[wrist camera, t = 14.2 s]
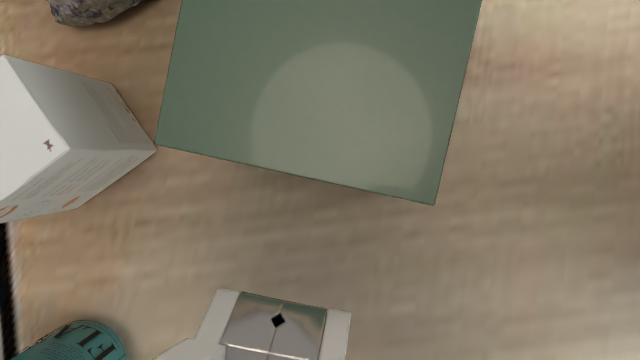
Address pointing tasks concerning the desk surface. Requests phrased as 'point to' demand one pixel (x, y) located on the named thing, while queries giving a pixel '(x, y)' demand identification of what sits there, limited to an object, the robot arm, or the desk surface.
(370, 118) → the bin lid
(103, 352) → the beverage bottle
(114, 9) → the mineral rock
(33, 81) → the small box
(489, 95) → the desk surface
